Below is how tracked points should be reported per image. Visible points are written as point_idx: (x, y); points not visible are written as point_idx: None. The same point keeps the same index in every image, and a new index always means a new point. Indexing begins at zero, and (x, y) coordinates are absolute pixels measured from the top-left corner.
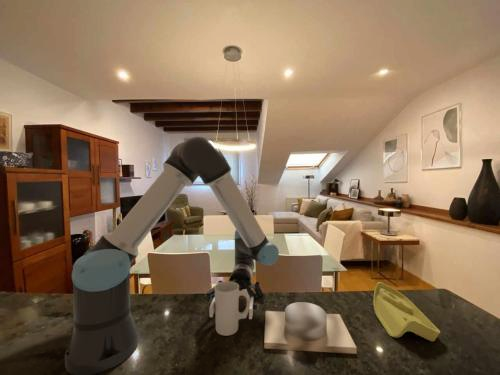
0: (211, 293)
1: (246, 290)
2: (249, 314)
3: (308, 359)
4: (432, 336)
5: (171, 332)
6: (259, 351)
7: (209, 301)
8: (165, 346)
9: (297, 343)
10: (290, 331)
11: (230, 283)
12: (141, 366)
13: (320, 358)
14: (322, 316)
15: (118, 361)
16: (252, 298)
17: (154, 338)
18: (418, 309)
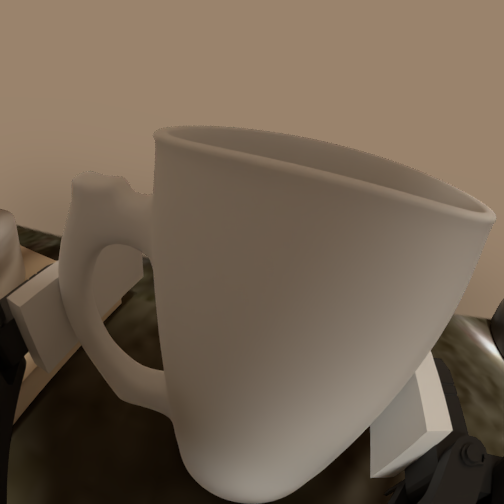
0: (496, 494)
1: (91, 173)
2: (139, 252)
3: (54, 253)
4: None
5: (482, 421)
6: (143, 300)
7: (449, 374)
8: (456, 366)
9: (42, 257)
10: (21, 273)
11: (289, 212)
12: (455, 320)
13: (33, 248)
14: None
15: (494, 319)
16: (35, 281)
17: (500, 392)
18: None
